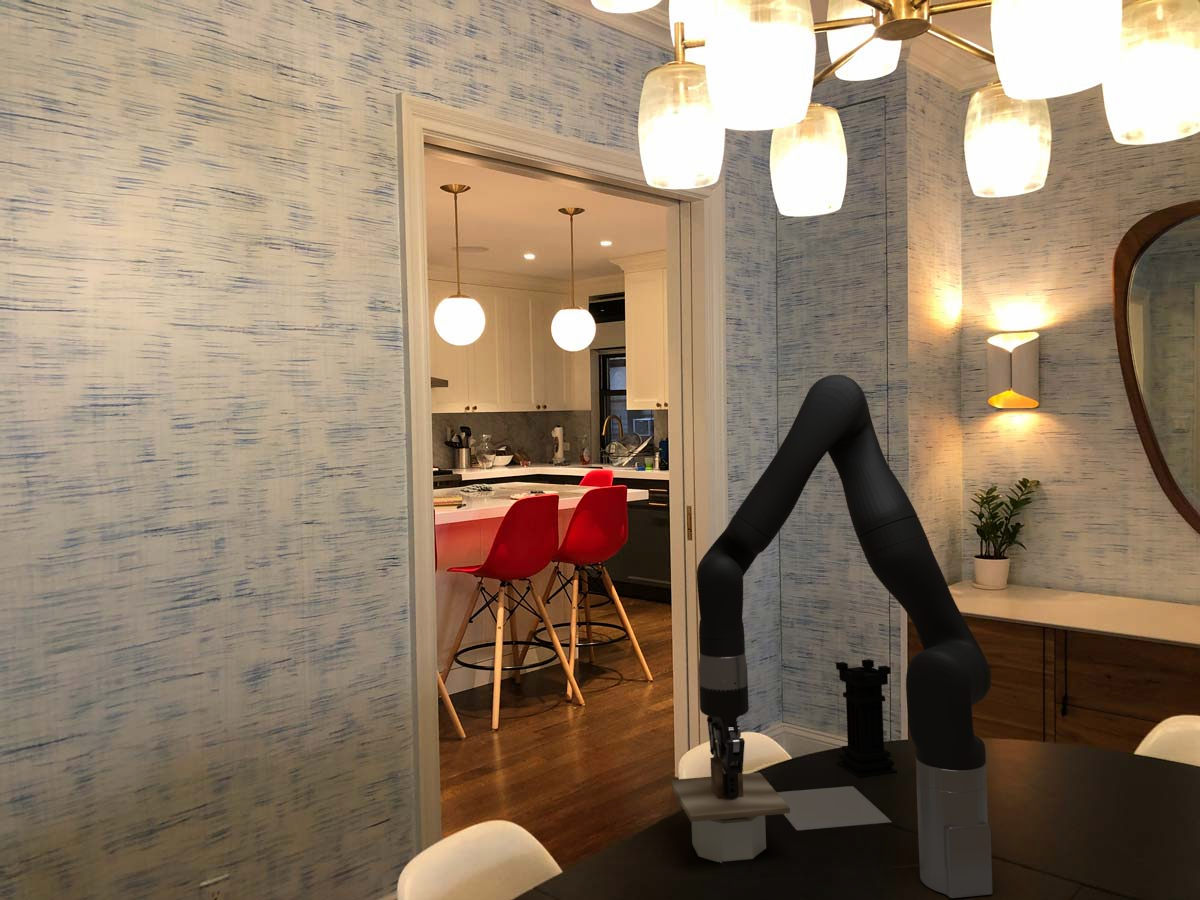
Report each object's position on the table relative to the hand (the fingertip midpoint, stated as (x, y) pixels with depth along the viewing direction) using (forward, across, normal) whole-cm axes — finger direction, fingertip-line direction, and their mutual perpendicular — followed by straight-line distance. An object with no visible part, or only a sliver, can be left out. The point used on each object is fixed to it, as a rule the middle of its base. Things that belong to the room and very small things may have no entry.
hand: (727, 791), depth 141 cm
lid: (+1, 0, 0) cm, 1 cm away
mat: (+9, +11, -20) cm, 24 cm away
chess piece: (+9, +27, -34) cm, 44 cm away
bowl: (+9, 0, 0) cm, 9 cm away
